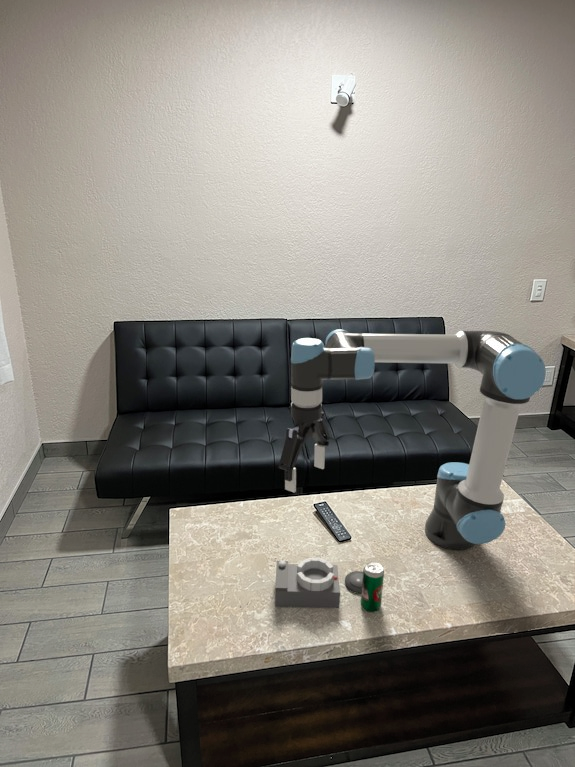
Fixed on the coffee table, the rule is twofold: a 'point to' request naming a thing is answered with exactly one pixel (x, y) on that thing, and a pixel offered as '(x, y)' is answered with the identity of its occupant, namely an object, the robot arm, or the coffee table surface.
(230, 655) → the coffee table surface
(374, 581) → the soda can
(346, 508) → the coffee table surface
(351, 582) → the lens cap
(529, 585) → the coffee table surface
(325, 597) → the camera body
